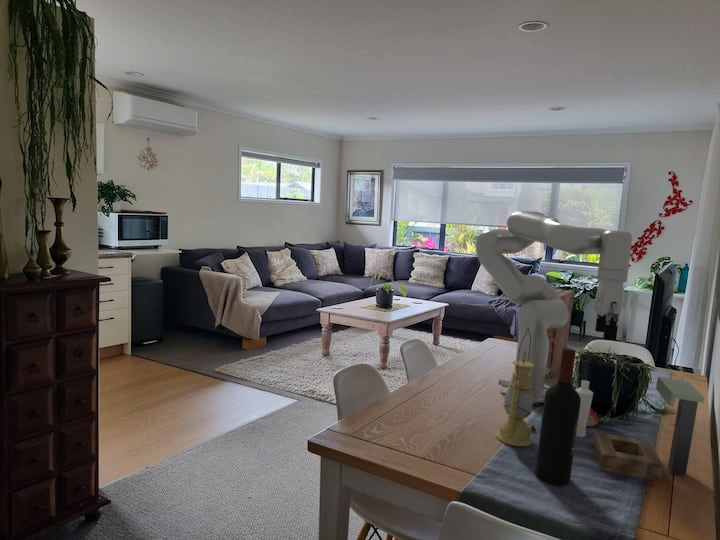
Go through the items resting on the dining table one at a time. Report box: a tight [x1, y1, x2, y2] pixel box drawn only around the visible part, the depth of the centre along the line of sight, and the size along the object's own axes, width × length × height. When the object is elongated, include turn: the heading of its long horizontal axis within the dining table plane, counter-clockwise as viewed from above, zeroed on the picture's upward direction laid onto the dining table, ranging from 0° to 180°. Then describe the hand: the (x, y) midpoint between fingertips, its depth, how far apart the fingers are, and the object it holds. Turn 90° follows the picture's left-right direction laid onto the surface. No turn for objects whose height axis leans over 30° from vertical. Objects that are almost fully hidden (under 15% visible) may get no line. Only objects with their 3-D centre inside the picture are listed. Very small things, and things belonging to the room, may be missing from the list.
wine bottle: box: [534, 347, 581, 487], centre depth 119 cm, size 8×8×30 cm
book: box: [545, 285, 575, 379], centre depth 202 cm, size 25×9×30 cm, turn 147°
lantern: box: [495, 328, 537, 447], centre depth 137 cm, size 12×10×30 cm
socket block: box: [591, 431, 664, 482], centre depth 130 cm, size 13×13×4 cm
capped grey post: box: [655, 376, 705, 477], centre depth 127 cm, size 7×12×21 cm, turn 164°
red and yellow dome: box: [586, 407, 599, 428], centre depth 155 cm, size 7×10×4 cm
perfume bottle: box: [574, 379, 594, 438], centre depth 144 cm, size 5×4×15 cm
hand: (605, 335), depth 149 cm, fingers open, 9 cm apart
